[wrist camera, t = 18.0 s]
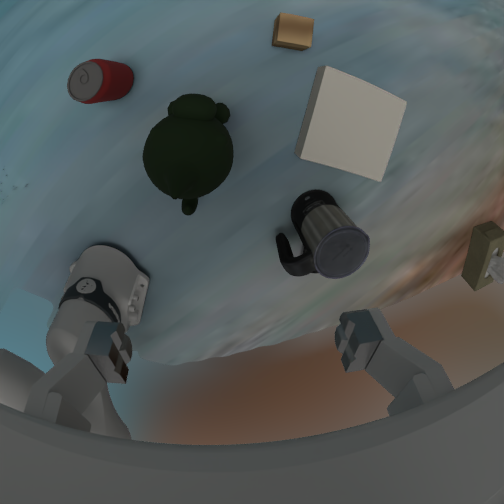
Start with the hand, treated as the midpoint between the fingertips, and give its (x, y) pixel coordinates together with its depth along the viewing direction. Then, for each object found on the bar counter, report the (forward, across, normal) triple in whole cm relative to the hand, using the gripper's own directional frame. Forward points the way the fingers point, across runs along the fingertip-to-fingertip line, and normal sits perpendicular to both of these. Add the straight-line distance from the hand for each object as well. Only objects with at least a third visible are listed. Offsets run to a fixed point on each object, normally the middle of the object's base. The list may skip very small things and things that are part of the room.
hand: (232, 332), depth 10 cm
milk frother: (+39, -17, +18) cm, 47 cm away
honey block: (+39, -10, -18) cm, 45 cm away
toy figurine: (+39, +4, +2) cm, 40 cm away
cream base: (+39, -21, -4) cm, 45 cm away
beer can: (+39, +18, -12) cm, 45 cm away
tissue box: (+40, -74, +25) cm, 87 cm away
